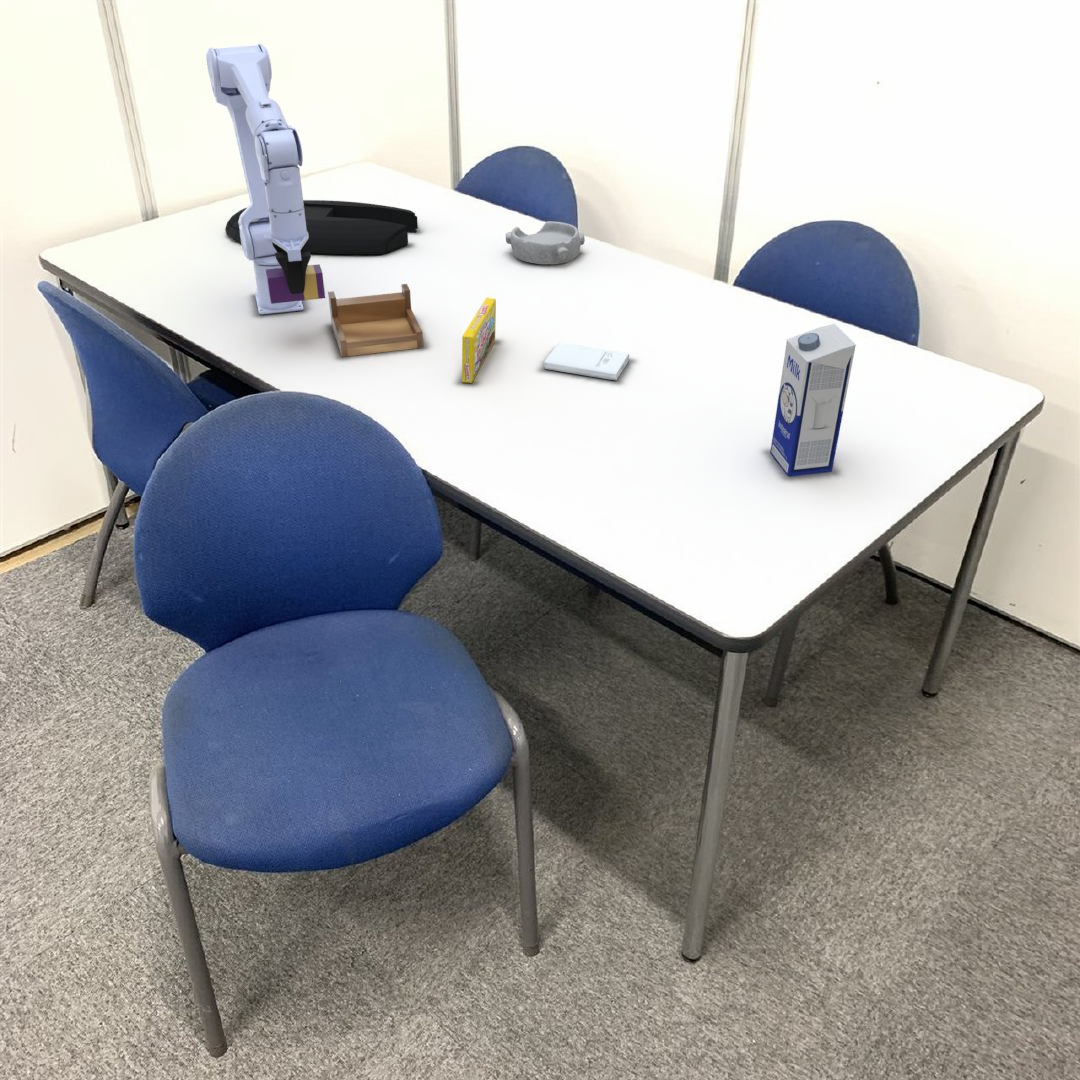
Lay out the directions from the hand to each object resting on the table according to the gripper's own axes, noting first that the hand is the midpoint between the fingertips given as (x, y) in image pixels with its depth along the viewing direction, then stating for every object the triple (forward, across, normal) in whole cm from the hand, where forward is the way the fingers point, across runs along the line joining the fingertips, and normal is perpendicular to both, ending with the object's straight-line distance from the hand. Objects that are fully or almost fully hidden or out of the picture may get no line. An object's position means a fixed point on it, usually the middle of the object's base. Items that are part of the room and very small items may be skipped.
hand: (296, 287), depth 185 cm
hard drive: (+10, +22, +45) cm, 51 cm away
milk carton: (+10, +60, +65) cm, 89 cm away
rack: (+10, +2, +13) cm, 16 cm away
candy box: (+10, +16, +28) cm, 34 cm away
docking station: (+10, -53, +9) cm, 55 cm away
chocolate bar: (+2, 0, 0) cm, 2 cm away
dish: (+10, -28, +52) cm, 60 cm away
